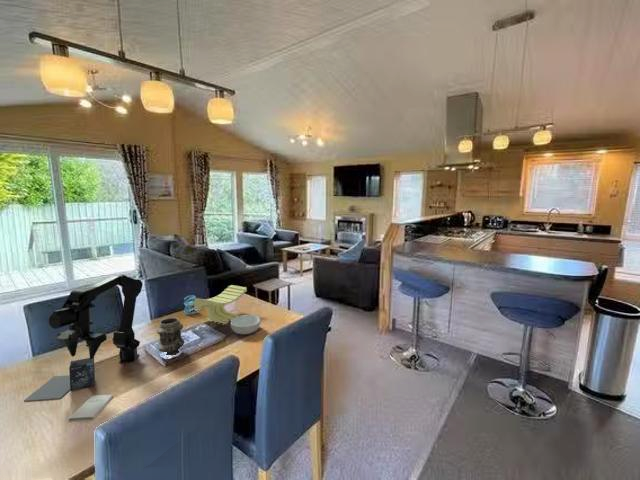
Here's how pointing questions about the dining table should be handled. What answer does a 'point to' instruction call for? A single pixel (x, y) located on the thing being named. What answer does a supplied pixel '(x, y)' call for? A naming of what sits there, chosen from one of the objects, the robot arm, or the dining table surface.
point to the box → (82, 373)
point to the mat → (52, 389)
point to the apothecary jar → (170, 336)
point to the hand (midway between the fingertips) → (82, 357)
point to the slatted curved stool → (220, 304)
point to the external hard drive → (91, 408)
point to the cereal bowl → (245, 324)
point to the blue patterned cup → (189, 305)
